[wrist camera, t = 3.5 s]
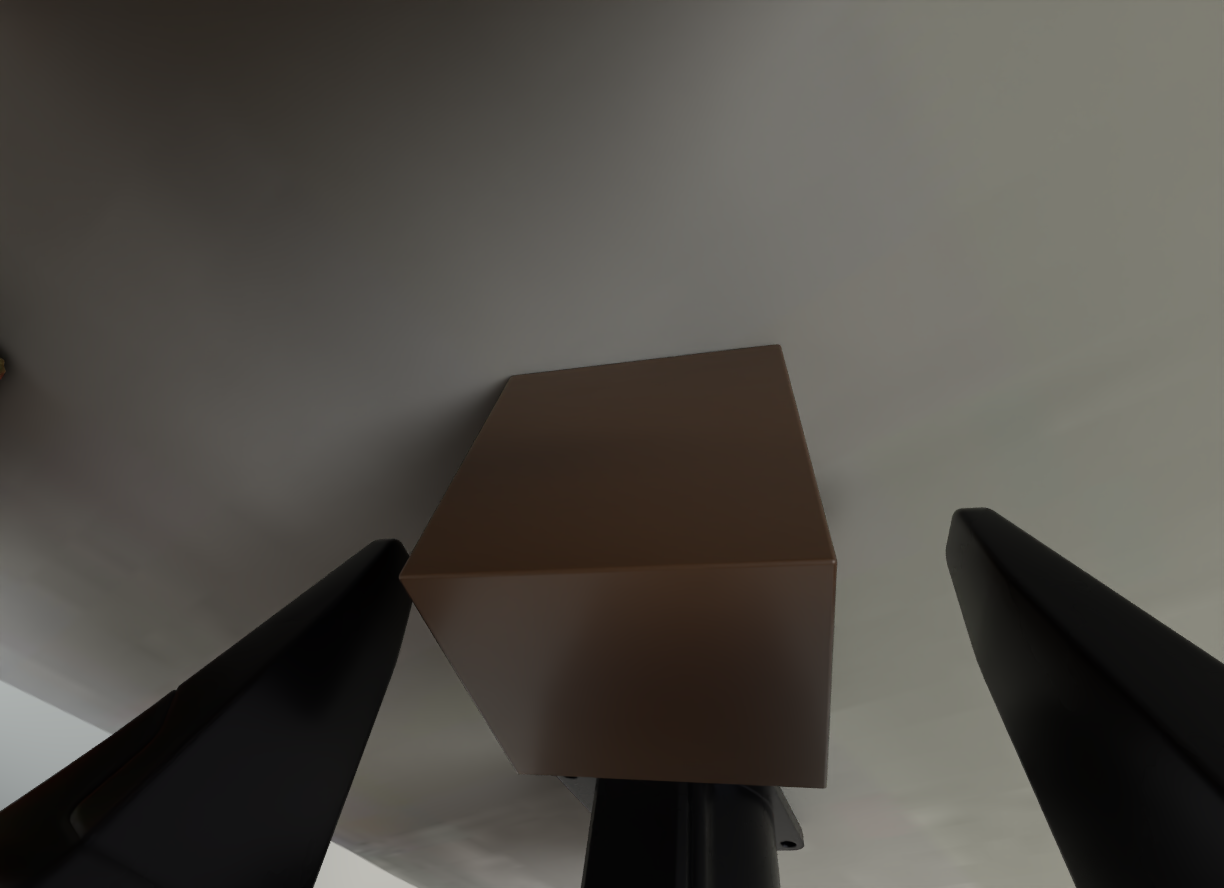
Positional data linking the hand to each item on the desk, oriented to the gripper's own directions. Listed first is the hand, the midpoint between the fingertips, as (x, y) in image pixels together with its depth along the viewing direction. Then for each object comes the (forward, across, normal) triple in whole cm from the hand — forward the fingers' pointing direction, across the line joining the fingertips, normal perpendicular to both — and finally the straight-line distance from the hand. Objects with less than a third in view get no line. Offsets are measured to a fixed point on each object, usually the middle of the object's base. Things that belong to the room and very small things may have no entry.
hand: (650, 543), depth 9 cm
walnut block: (+2, 0, 0) cm, 2 cm away
